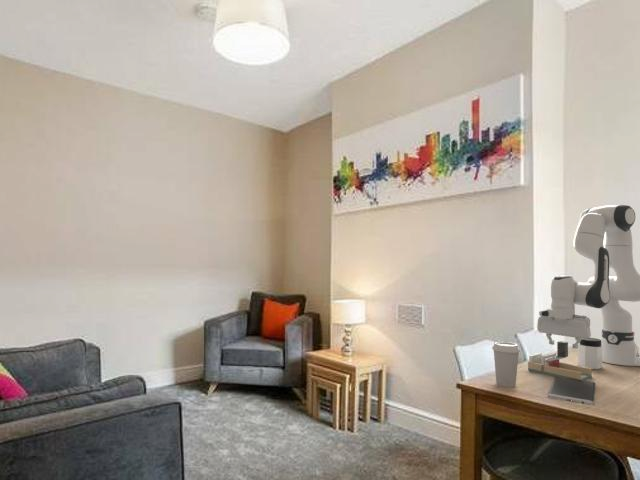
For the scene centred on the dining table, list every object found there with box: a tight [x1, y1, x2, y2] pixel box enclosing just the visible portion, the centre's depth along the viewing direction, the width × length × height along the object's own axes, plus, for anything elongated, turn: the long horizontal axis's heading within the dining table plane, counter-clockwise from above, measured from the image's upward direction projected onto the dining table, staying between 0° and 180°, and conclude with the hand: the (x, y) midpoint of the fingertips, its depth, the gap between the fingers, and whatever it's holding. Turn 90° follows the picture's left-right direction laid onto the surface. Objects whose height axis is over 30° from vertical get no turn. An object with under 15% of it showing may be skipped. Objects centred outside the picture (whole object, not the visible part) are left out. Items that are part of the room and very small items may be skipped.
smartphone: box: [547, 376, 596, 406], centre depth 156 cm, size 13×27×2 cm, turn 146°
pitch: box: [527, 352, 593, 381], centre depth 178 cm, size 11×20×7 cm, turn 38°
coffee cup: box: [491, 341, 521, 388], centre depth 161 cm, size 10×10×15 cm
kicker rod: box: [546, 340, 569, 368], centre depth 181 cm, size 15×3×10 cm, turn 128°
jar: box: [577, 337, 604, 370], centre depth 190 cm, size 9×8×12 cm
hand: (563, 346), depth 185 cm, fingers open, 8 cm apart
